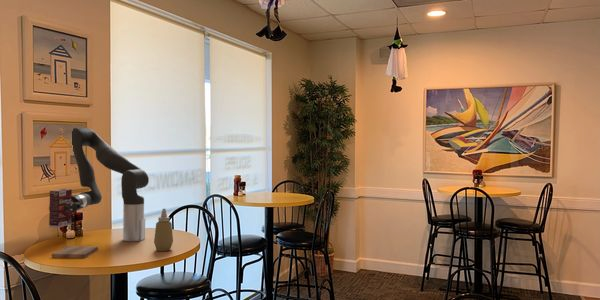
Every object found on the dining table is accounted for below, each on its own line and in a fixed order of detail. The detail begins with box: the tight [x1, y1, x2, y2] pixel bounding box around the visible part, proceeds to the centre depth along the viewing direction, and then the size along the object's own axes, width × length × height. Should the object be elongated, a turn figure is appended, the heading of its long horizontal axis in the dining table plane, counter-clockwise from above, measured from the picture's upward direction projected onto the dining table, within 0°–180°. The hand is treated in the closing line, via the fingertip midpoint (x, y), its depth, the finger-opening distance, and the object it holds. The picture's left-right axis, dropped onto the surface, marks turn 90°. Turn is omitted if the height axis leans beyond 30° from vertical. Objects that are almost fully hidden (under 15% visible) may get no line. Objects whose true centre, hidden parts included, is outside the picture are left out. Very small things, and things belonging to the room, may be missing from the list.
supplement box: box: [48, 188, 73, 229], centre depth 200 cm, size 9×5×16 cm, turn 169°
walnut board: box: [51, 245, 99, 259], centre depth 189 cm, size 13×13×2 cm
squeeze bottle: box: [153, 208, 174, 252], centre depth 198 cm, size 8×8×18 cm
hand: (57, 208), depth 198 cm, fingers closed on supplement box, 5 cm apart
